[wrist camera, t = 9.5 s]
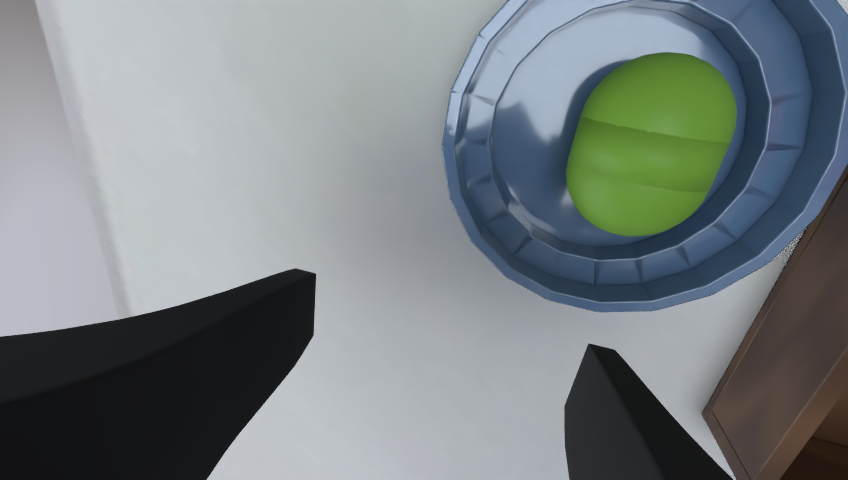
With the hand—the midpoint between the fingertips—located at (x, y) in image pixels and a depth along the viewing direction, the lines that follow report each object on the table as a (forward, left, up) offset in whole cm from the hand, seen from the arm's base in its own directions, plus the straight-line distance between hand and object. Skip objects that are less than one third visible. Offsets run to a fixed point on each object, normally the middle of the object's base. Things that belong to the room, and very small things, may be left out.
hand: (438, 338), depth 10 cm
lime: (+5, -5, -7) cm, 10 cm away
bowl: (+5, -5, -10) cm, 12 cm away
